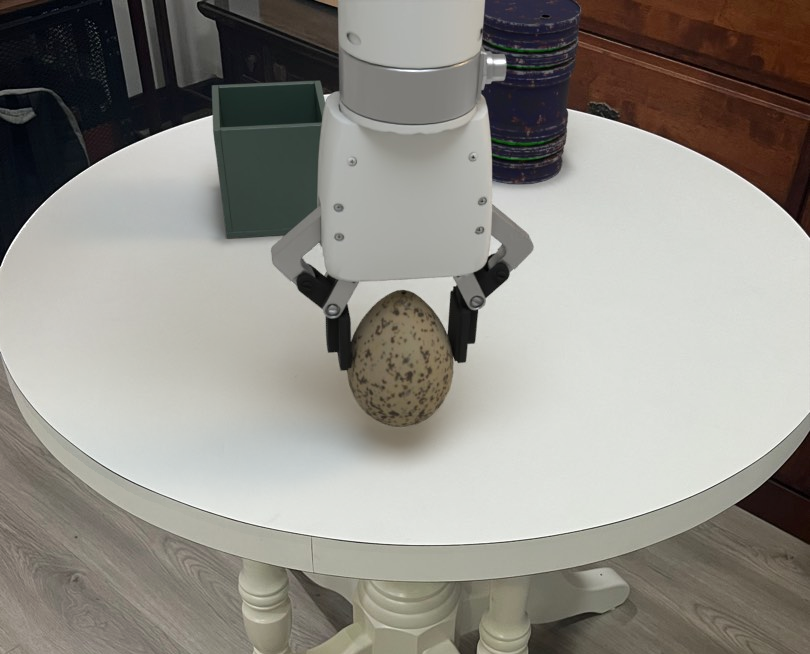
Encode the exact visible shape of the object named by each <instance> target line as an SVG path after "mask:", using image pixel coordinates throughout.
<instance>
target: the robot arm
mask: <svg viewBox="0 0 810 654" xmlns="http://www.w3.org/2000/svg"><path fill="white" fill-rule="evenodd" d="M484 8H485V0H337V19H338V20H337V25H338V26H337V27H338V29H337V30H338V36H337V37H338V85H339V87H338V88H339V89H338V91H334V92H332V93H330V94H329V95H328V96H327V97H326V98H325V107H324V112H323V118H322V126H321V134H320V144H319V159H318V192H317V208H316V209H315V210H314V211H313V212H312V213H310V214H309V215H308V216H307V217H306V218H305V219H303V220H302V221H301V222H300V223H299V224H298V225H296V226H295V227H294V228H293V229H292V230H291V231H289V232H288V233H287V234H286V235H283V236H282V237H281V238H280V239H279V240H277V241H276V242H275V243H274V244H273V245H272V246H271V248H270V255H271V263H272V265H273V267H274V268H275V269H277V270H278V271H279V272H280V273H281V274H282V275H283V276H284V277H285V278H286V279H287V280H288V281H289V282H292V283H293V284H294V285H295V286H296V288H297V291H298V292H300V293H301V294H302V295H303V296H305V298H307V299H309V300H310V301H311V302H312V303H313V304H315V305H316V306H317V307H319V308H320V309H321V310H322V313H323V315H324V316H325V317H324V318H325V340H326V341H325V343H326V349H327V353H328V354H332V353H333V354H334V353H336V354H337V359H338V364H339V371H341V372H342V371H343V372H344V371H347V370H348V368H351V340H352V321H351V314H350V310H349V304H348V303H349V301H350V299H352V296H353V294H354V293H355V290H356V289H357V287H358V285H359V283H360V282H362V283H363V282H364V283H365V282H383V281H384V282H385V281H405V280H421V279H439V278H453V280H454V282H455V284H456V285H453V286H452V290H450V293H449V306H448V320H447V335H448V337H449V340H450V344H451V348H452V353H453V362H457V364H465V363H467V356H468V345H474V344H476V339H477V328H478V317H479V310H481V309H483V308H484V307H485V305H486V303H487V298H489V296H491V295H492V294H493V293H494V292H495V291H496V290H497V289H499V288H500V287H501V286H502V285H503V284H504V283H505V282H506V281H507V280H509V278H510V275H511V274H510V273H511V272H512V271H513V270H514V271H515V270H516V269H517V268H518V267H519V266H520V265H521V264H522V263H523V262H524V261H525V260H526V259H527V258H528V257H529V256H530V255H531V253H533V251H534V248H535V245H534V242H533V241H532V239H531V237H530V235H529V233H528V232H527V231H526V230H525V229H523V228H522V227H521V226H520V225H519V224H517V223H516V222H515V221H514V220H513V219H511V218H510V217H509V216H508V215H506V213H504V212H503V211H501V209H499V208H498V207H496V205H494V204H493V180H492V151H491V136H490V125H489V116H488V109H487V105H486V100H485V98H484V96H483V95H482V94H481V90H484V86H485V84H491V82H492V81H504V79H505V76H506V57H505V55H504V54H492V52H491V51H488V52H486V51H485V50H484V48H483V46H481V45H482V34H483V21H484ZM492 237H493V238H494V239H495V240H496V241H498V242H499V243H500V244H501V245H500V246H499V247H498V248H497V251H496V252H494V253H491V254H490V248H491V242H492V241H491V240H492ZM318 244H319V245H320V247H321V250H322V257H323V262H324V267H325V271H326V272H325V274H323V273H322V272H321V271H319V270H318V269H317V268H315V267H314V266H313V265H312V264H311V263H307V262H306V261H305V259H304V258H303V257H304V256H305V255H306V254H308V253H309V252H310V251H311V250H312V249H314V247H316V246H317V245H318Z"/></svg>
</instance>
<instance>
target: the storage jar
mask: <svg viewBox="0 0 810 654" xmlns="http://www.w3.org/2000/svg"><path fill="white" fill-rule="evenodd" d="M581 14H582V6H581V5H580V4H579V3H578V1H576V0H485V8H484V21H483V34H482V45H481V46H483V48H484V50H485V51H486V52H488V51H491V52H492V54H504V55H505V57H506V76H505V79H504V81H492V82H491V84H485V86H484V90H481V94H482V95H483V96H484V98H485V100H486V105H487V109H488V116H489V125H490V136H491V151H492V181H493V182H496V183H497V182H499V183H502V184H510V185H511V184H512V185H526V184H527V185H529V184H536V183H542V182H544V181H547V180H550V179H552V178H554V177H555V176H557V175H558V174H559V173H560V171H561V169H562V167H563V157H562V155H563V154H564V151H565V145H566V142H567V135H568V128H567V127H568V123H569V111H568V99H569V92H570V83H571V76H572V75H573V74H574V71H575V67H576V65H577V63H576V55H577V53H578V47H579V32H580V31H579V30H580V24H579V22H580V20H581Z"/></svg>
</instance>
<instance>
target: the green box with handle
mask: <svg viewBox="0 0 810 654" xmlns="http://www.w3.org/2000/svg"><path fill="white" fill-rule="evenodd" d="M325 102H326V98H325V95H324V91H323V87H322V82H321V80H301V81H280V82H257V83H234V84H232V83H231V84H214V85H213V84H212V85H211V105H212V133H213V141H214V149H215V150H214V151H215V157H216V166H217V174H218V181H219V188H220V189H219V190H220V198H221V205H222V212H223V221H224V229H225V237H226V239H241V238H257V237H274V236H285V235H286V234H287V233H288V232H289V231H291V230H292V229H293V228H294V227H295V226H296V225H298V224H299V223H300V222H301V221H302V220H303V219H305V218H306V217H307V216H308V215H309V214H310V213H312V212H313V211H314V210H315V209H316V208H317V192H318V159H319V144H320V134H321V126H322V118H323V112H324V107H325Z"/></svg>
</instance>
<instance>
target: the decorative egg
mask: <svg viewBox="0 0 810 654" xmlns="http://www.w3.org/2000/svg"><path fill="white" fill-rule="evenodd" d="M447 333H448V331H447V329H446V327H445V326H444V324H443V323H442V320H441V319H440V317H439V316H438V315H437V313H436V312H435V310H434V309H433V308H432V307H431V306H430V304H428V303H427V302H426V301H425V300H424V299H423V298H422V297H421V296H419V295H417V294H416V293H415V292H412V291H410V290H406V289H398V290H393V291H391V292H390V293H388V294H386V295H385V296H383V297H382V298H380V299H379V300H378V301H377V302H375V304H373V306H372V307H371V308H370V309H368V311H367V312H366V314H365V315H364V316H363V317H362V319H361V320H360V322H359V324H358V325H357V326H356V329H355V331H354V332H353V335H352V336H351V368H348V370H346V373H347V380H348V385H349V388H350V392H351V394H352V396H353V398H354V400H355V401H356V403H357V404H358V406H359V408H361V410H362V411H363V412H364V413H365V414H366V415H367V416H369V417H370V418H371V419H372V420H374V421H376V422H378V423H380V424H383V425H386V426H388V427H393V428H395V427H396V428H403V427H411V426H414V425H418V424H420V423H422V422H424V421H426V420H428V419H429V418H430V417H432V416H433V415H434V414H435V413H436V412H437V411H438V410H439V409H440V408H441V406H442V405H443V404H444V402H445V401H446V398H447V396H448V394H449V392H450V389H451V386H452V383H453V377H454V357H453V353H452V348H451V344H450V340H449V337H448V335H447Z"/></svg>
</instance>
